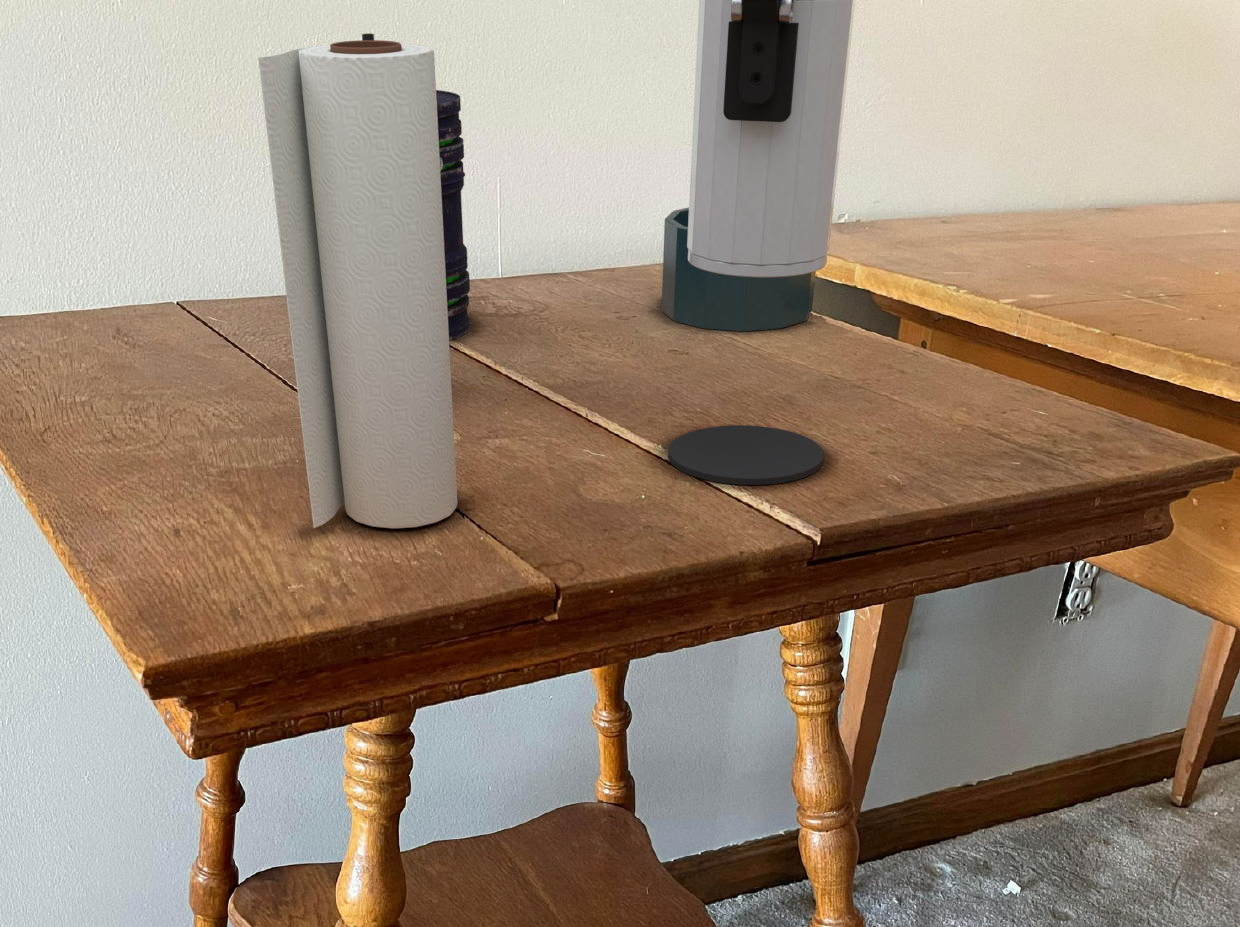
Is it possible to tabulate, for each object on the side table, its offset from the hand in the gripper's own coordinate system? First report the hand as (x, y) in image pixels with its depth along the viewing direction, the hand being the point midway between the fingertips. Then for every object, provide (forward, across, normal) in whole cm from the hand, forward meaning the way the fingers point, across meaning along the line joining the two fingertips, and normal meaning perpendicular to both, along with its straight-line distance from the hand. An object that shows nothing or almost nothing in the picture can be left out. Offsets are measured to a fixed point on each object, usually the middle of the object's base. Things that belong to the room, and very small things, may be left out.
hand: (769, 105), depth 70 cm
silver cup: (+7, 0, 0) cm, 7 cm away
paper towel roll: (+18, -13, +17) cm, 28 cm away
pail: (+18, +32, +6) cm, 37 cm away
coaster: (+18, 0, 0) cm, 18 cm away
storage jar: (+18, +21, +29) cm, 40 cm away
